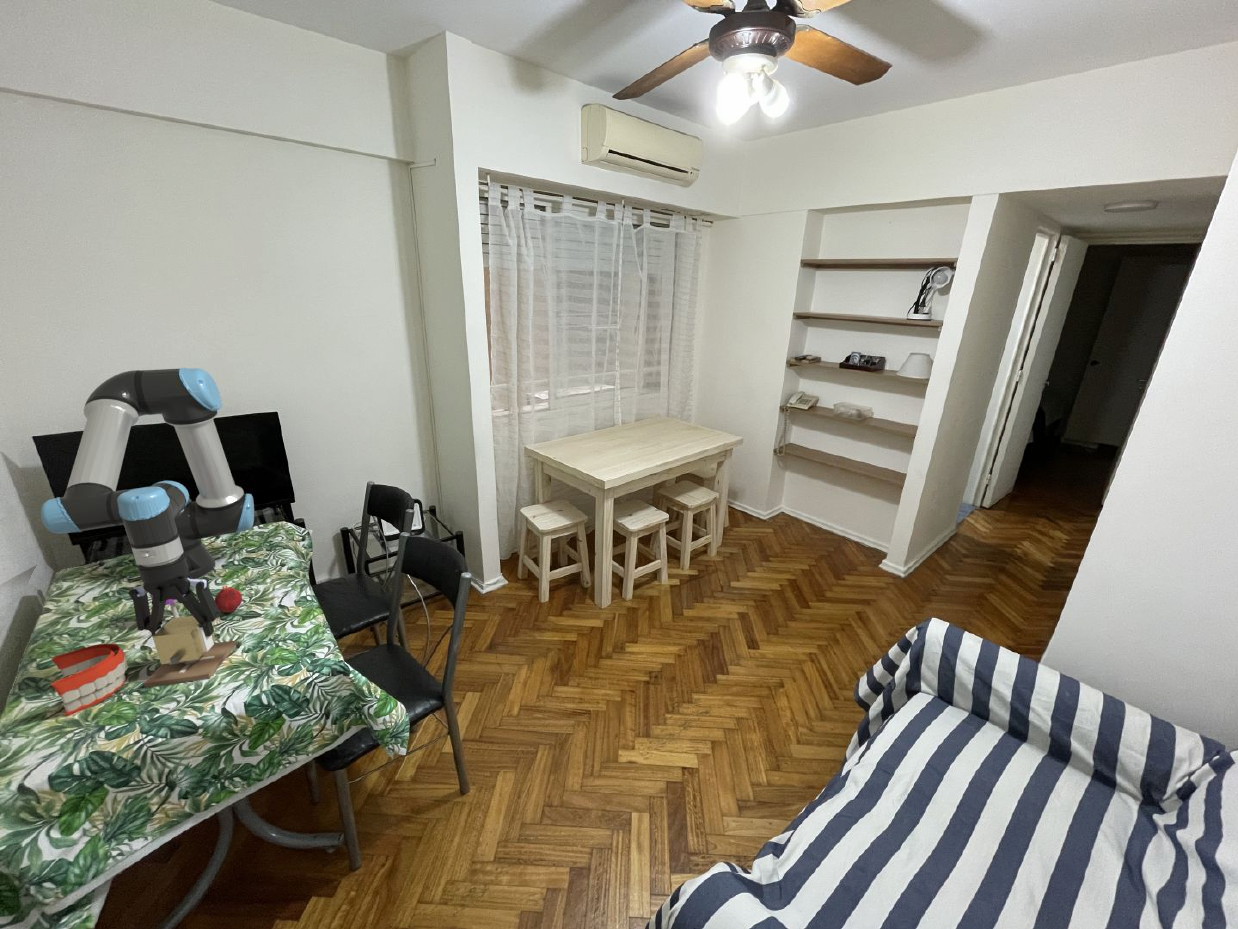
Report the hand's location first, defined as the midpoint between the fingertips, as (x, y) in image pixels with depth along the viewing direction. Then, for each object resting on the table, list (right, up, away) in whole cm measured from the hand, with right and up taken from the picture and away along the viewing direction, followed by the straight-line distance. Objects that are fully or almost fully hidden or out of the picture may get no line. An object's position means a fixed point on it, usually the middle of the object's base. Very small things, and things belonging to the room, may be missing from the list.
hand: (189, 650), depth 111 cm
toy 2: (-19, +1, +18) cm, 26 cm away
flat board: (0, -4, +1) cm, 4 cm away
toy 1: (-14, -6, -6) cm, 16 cm away
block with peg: (0, 0, 0) cm, 0 cm away
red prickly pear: (-7, +2, +21) cm, 23 cm away
